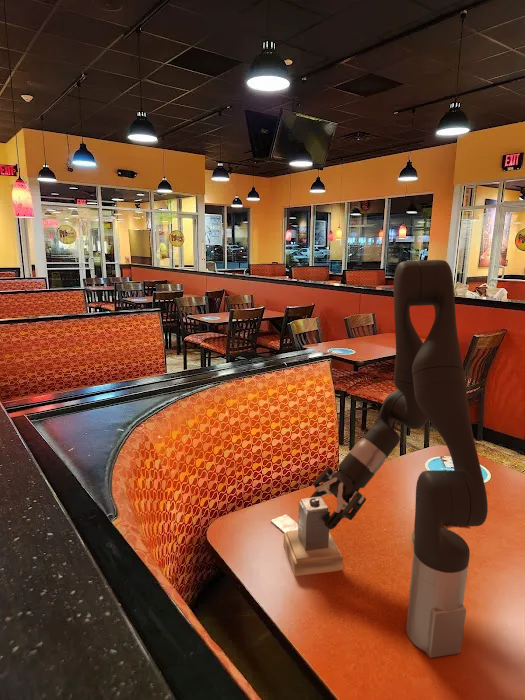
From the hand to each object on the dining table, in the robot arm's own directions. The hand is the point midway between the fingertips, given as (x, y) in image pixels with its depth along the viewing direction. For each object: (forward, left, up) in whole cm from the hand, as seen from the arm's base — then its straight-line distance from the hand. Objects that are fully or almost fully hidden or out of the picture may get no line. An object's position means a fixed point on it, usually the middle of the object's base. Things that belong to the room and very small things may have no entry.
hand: (317, 516), depth 105 cm
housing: (0, +1, -6) cm, 6 cm away
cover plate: (+13, +4, -11) cm, 17 cm away
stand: (0, +1, -10) cm, 10 cm away
